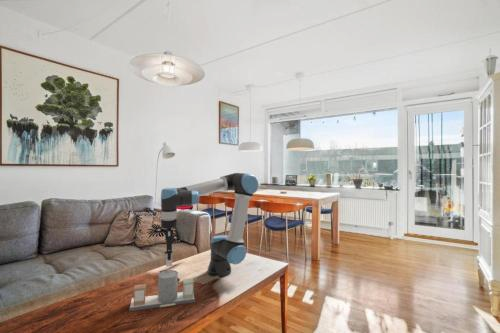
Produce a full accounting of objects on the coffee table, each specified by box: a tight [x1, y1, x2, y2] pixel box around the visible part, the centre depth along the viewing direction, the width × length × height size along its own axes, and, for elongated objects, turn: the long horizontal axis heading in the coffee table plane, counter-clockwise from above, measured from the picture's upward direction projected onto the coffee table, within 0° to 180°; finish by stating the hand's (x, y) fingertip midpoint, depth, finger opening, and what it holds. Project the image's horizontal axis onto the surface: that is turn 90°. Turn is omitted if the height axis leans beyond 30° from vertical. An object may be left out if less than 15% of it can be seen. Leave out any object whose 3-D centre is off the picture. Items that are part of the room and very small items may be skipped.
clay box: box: [133, 283, 147, 306], centre depth 127 cm, size 5×4×8 cm
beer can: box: [157, 269, 179, 303], centre depth 132 cm, size 10×10×12 cm
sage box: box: [182, 278, 195, 299], centre depth 134 cm, size 5×4×8 cm
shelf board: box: [128, 291, 196, 312], centre depth 130 cm, size 30×12×2 cm, turn 108°
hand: (168, 260), depth 132 cm, fingers open, 13 cm apart
